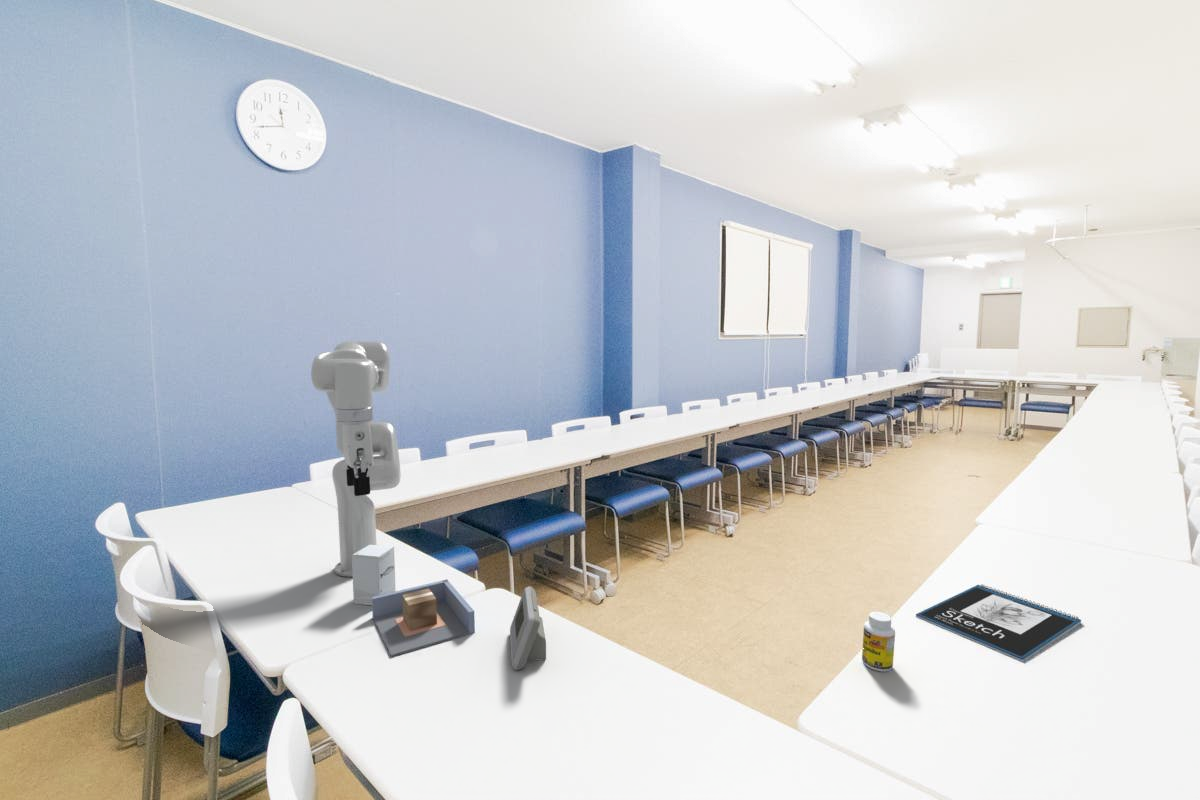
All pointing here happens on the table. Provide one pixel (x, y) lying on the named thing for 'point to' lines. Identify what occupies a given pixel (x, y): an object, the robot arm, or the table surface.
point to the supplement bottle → (878, 642)
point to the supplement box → (373, 573)
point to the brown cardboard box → (419, 609)
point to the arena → (451, 624)
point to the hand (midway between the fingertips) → (358, 489)
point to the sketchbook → (1000, 621)
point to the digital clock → (527, 631)
